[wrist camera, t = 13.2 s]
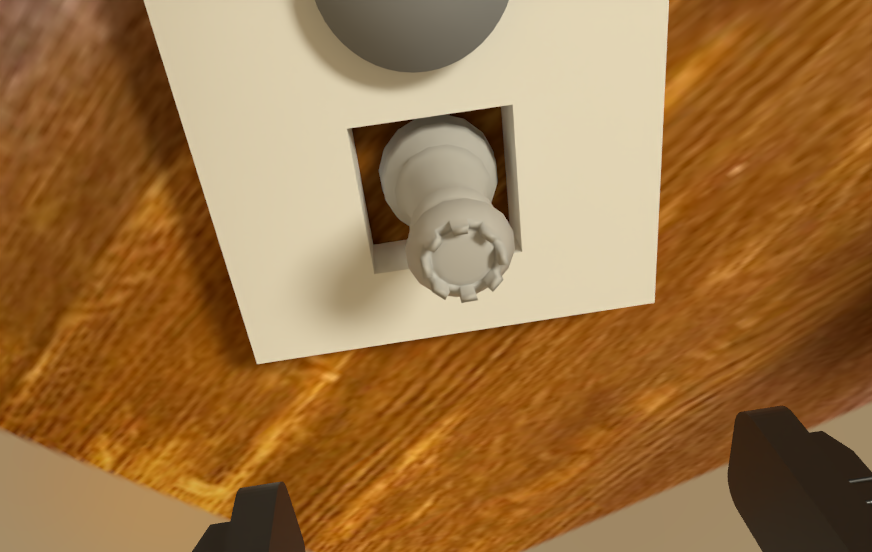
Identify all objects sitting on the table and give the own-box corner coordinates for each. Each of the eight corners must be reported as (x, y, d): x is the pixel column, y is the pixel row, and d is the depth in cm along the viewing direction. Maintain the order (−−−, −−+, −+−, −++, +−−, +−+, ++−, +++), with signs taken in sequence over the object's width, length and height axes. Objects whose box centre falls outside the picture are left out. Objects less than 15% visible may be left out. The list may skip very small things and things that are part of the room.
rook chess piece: (431, 240, 28) (456, 356, 21) (354, 165, 26) (352, 264, 19) (516, 169, 26) (573, 265, 20) (442, 84, 25) (475, 157, 18)
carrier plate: (116, -172, 20) (72, -186, 17) (647, -244, 20) (697, -269, 17) (264, 329, 29) (253, 379, 26) (632, 272, 29) (664, 316, 26)
